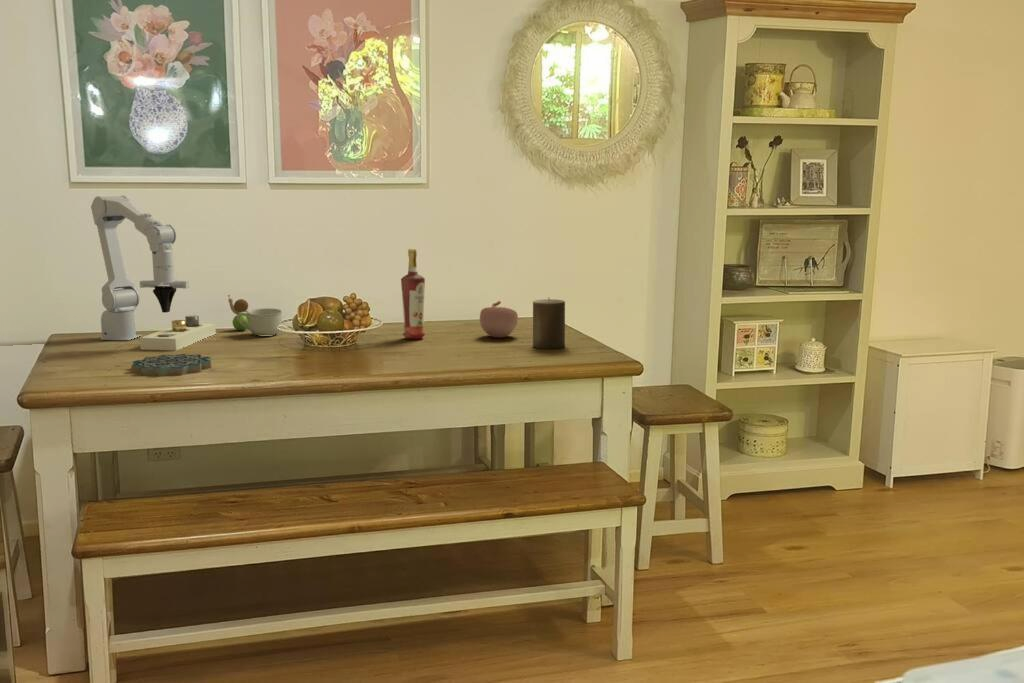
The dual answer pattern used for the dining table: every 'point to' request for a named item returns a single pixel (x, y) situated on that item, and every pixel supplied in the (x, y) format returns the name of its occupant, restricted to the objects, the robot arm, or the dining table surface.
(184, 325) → the knob brass
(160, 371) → the decorative tile
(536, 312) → the pillar candle
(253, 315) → the teacup
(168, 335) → the knob near
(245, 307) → the snail figurine
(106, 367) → the dining table surface
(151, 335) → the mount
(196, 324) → the knob far
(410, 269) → the liquor
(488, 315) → the pink decorative apple
